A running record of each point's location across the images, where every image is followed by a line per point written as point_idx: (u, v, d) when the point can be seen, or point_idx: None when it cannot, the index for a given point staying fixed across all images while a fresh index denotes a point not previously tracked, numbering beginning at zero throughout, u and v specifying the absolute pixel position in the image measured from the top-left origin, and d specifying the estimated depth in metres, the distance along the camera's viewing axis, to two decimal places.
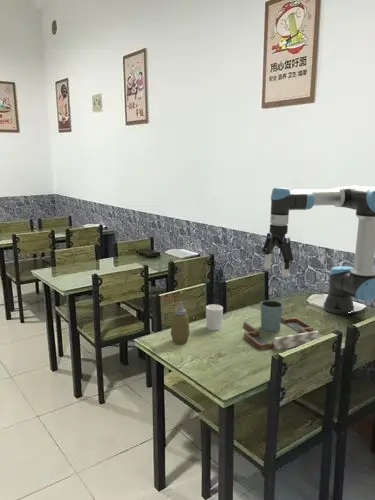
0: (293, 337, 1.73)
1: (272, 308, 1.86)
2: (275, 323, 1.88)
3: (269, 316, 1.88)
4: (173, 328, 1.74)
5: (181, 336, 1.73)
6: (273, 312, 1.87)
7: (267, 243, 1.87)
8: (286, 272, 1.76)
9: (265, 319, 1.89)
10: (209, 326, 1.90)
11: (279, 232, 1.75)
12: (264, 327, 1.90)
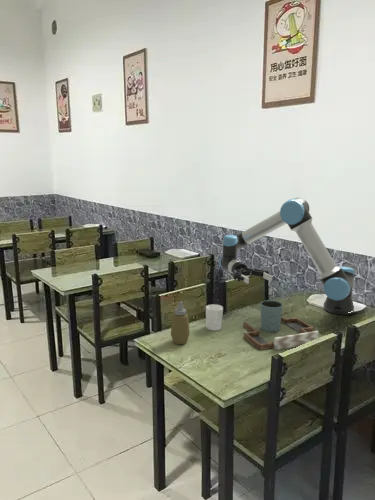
0: (293, 337, 1.73)
1: (272, 308, 1.86)
2: (275, 323, 1.88)
3: (269, 316, 1.88)
4: (173, 328, 1.74)
5: (181, 336, 1.73)
6: (273, 312, 1.87)
7: None
8: (245, 279, 1.98)
9: (265, 319, 1.89)
10: (209, 326, 1.90)
11: None
12: (264, 327, 1.90)
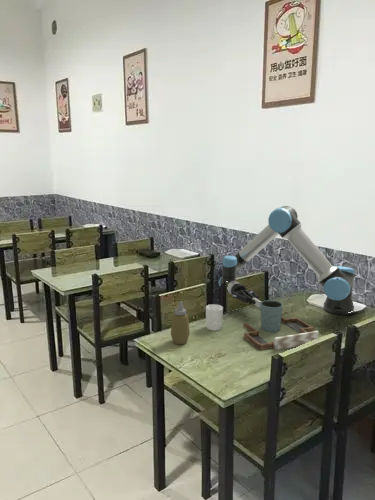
0: (293, 337, 1.73)
1: (272, 308, 1.86)
2: (275, 323, 1.88)
3: (269, 316, 1.88)
4: (173, 328, 1.74)
5: (181, 336, 1.73)
6: (273, 312, 1.87)
7: None
8: (257, 302, 2.01)
9: (265, 319, 1.89)
10: (209, 326, 1.90)
11: None
12: (264, 327, 1.90)
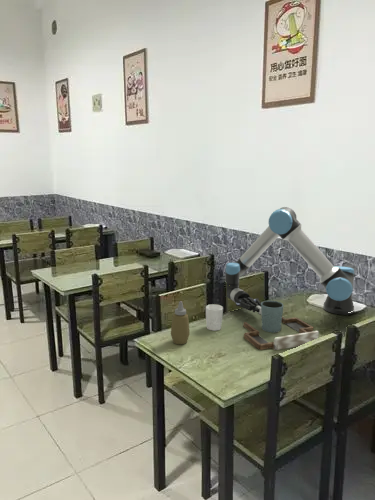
0: (293, 337, 1.73)
1: (273, 308, 1.86)
2: (276, 323, 1.88)
3: (270, 316, 1.87)
4: (173, 328, 1.74)
5: (181, 336, 1.73)
6: (274, 312, 1.86)
7: None
8: (261, 311, 1.97)
9: (266, 319, 1.88)
10: (209, 326, 1.90)
11: None
12: (265, 327, 1.90)
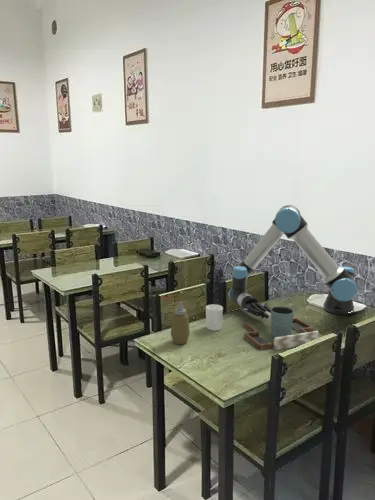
0: (293, 337, 1.73)
1: (283, 315, 1.78)
2: (286, 330, 1.80)
3: (280, 323, 1.80)
4: (173, 328, 1.74)
5: (181, 336, 1.73)
6: (284, 319, 1.79)
7: None
8: (270, 317, 1.90)
9: (276, 326, 1.81)
10: (209, 326, 1.90)
11: None
12: (275, 334, 1.82)
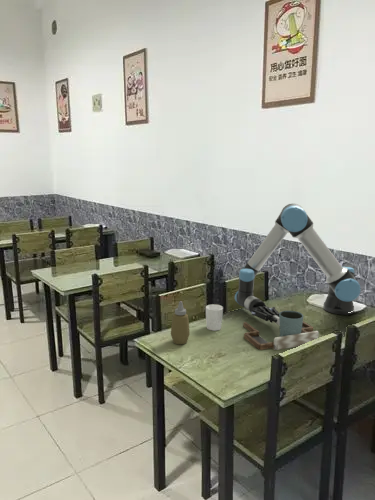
0: (293, 337, 1.73)
1: (292, 319, 1.73)
2: None
3: (289, 328, 1.75)
4: (173, 328, 1.74)
5: (181, 336, 1.73)
6: (293, 324, 1.74)
7: None
8: (279, 321, 1.85)
9: (284, 331, 1.76)
10: (209, 326, 1.90)
11: (252, 312, 2.01)
12: None
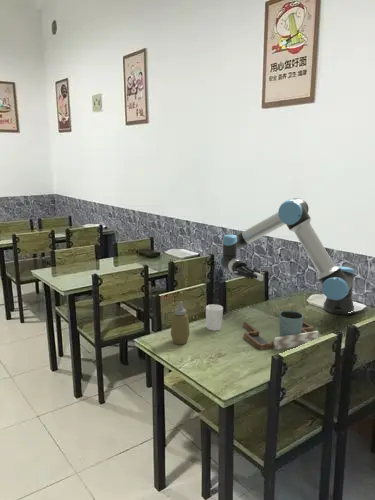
0: (293, 337, 1.73)
1: (292, 320, 1.73)
2: None
3: (289, 328, 1.75)
4: (173, 328, 1.74)
5: (181, 336, 1.73)
6: (293, 324, 1.74)
7: None
8: (258, 276, 2.01)
9: (284, 331, 1.76)
10: (209, 326, 1.90)
11: None
12: None
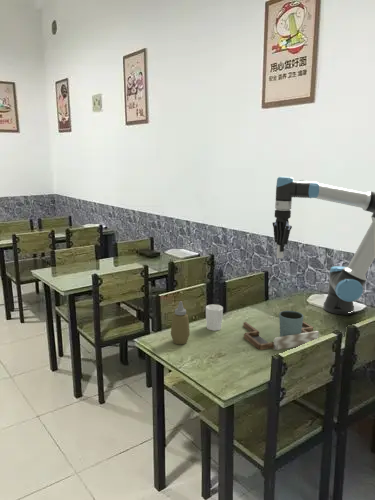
0: (293, 337, 1.73)
1: (292, 320, 1.73)
2: None
3: (289, 328, 1.75)
4: (173, 328, 1.74)
5: (181, 336, 1.73)
6: (293, 324, 1.74)
7: (276, 231, 2.05)
8: (281, 254, 2.04)
9: (284, 331, 1.76)
10: (209, 326, 1.90)
11: (283, 216, 1.96)
12: None
